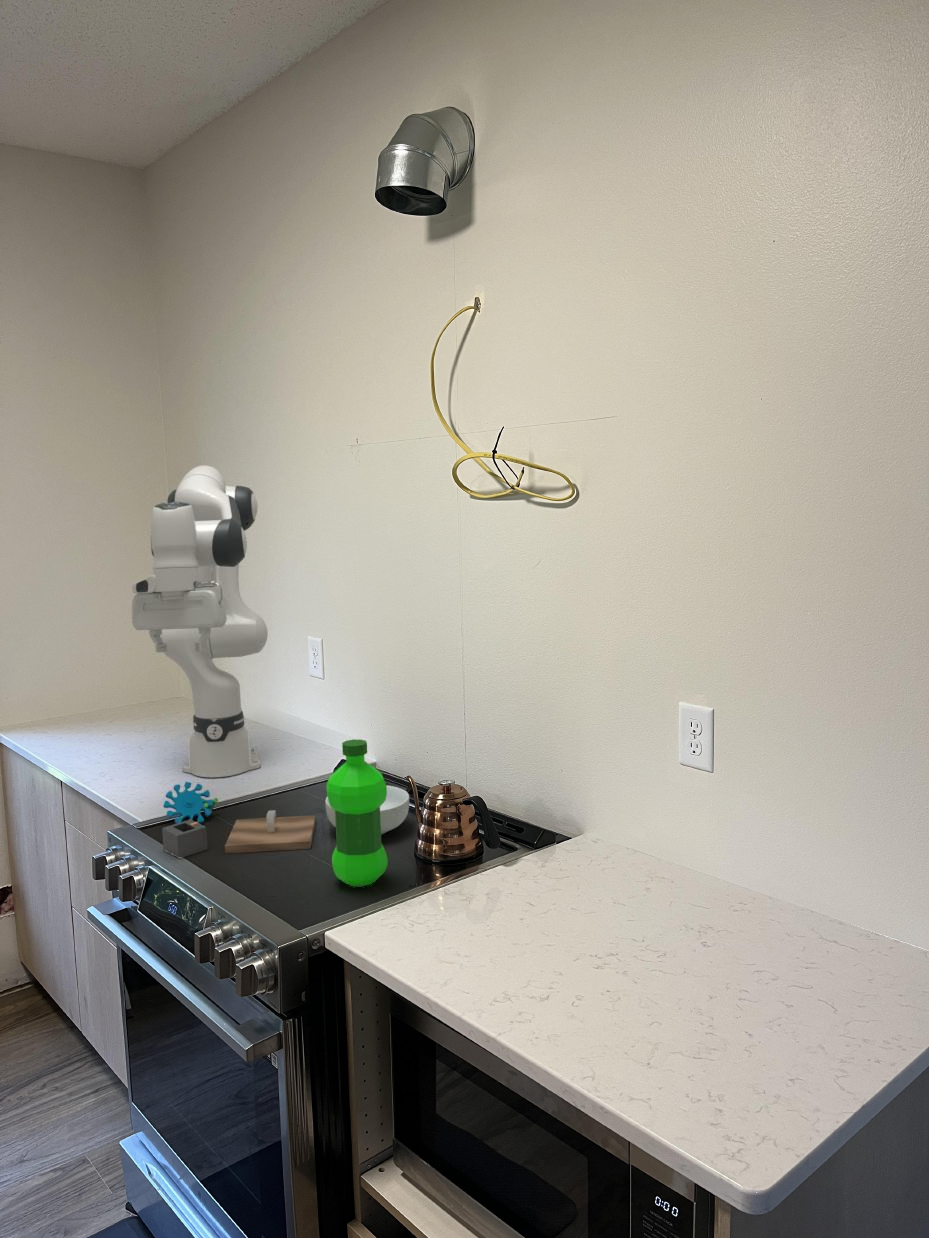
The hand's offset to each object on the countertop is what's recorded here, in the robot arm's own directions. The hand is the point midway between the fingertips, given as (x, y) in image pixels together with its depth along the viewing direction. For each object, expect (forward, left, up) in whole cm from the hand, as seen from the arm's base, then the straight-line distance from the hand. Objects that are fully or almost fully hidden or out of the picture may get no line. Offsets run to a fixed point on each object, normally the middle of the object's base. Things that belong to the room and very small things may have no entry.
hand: (181, 651), depth 185 cm
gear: (-3, -1, -37) cm, 37 cm away
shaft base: (+10, +17, -36) cm, 41 cm away
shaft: (+9, +17, -35) cm, 40 cm away
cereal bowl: (+9, +36, -37) cm, 52 cm away
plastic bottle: (+33, +35, -37) cm, 60 cm away
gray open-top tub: (+14, +1, -36) cm, 39 cm away
